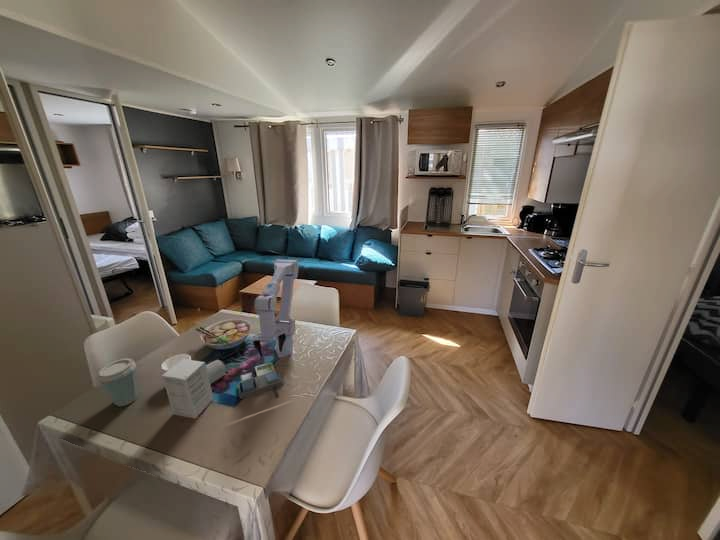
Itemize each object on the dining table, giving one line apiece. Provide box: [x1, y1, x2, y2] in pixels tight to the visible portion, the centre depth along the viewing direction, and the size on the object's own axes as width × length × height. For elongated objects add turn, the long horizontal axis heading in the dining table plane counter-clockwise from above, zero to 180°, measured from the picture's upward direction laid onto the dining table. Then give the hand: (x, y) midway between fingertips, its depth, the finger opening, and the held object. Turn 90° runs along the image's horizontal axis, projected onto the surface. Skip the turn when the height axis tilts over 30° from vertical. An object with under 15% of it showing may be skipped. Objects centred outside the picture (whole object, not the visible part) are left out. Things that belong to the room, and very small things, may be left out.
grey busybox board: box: [237, 369, 284, 400], centre depth 106 cm, size 12×16×3 cm
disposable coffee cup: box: [96, 357, 139, 407], centre depth 99 cm, size 11×11×15 cm
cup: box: [160, 353, 192, 375], centre depth 109 cm, size 10×10×9 cm
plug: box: [240, 372, 255, 393], centre depth 105 cm, size 4×4×6 cm
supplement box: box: [161, 359, 214, 419], centre depth 96 cm, size 10×9×17 cm
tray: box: [254, 361, 276, 377], centre depth 116 cm, size 7×7×2 cm
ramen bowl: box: [195, 318, 253, 350], centre depth 134 cm, size 25×23×8 cm
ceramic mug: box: [206, 359, 227, 385], centre depth 111 cm, size 11×8×8 cm
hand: (271, 353), depth 113 cm, fingers open, 7 cm apart
